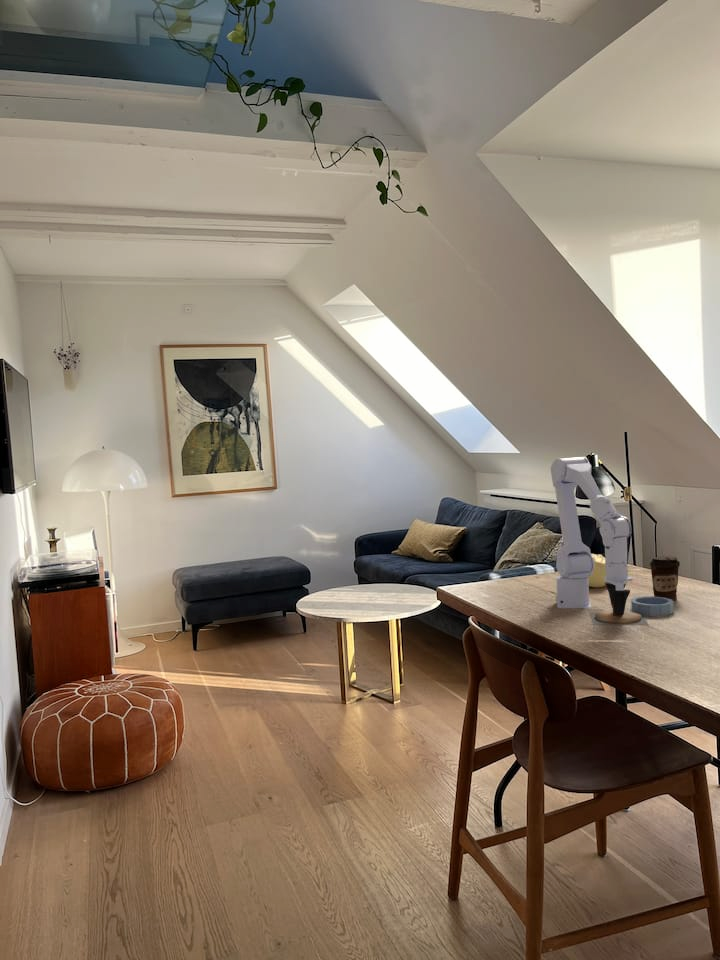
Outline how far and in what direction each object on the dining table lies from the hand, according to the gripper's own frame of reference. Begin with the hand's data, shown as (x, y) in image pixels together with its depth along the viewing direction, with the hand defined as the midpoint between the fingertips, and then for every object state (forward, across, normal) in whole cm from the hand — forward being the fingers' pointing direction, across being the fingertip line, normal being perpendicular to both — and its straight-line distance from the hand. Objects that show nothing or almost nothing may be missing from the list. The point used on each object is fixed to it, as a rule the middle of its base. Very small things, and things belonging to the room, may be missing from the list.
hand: (617, 611), depth 209 cm
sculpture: (+3, +45, +3) cm, 45 cm away
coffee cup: (+3, +23, -16) cm, 28 cm away
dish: (+2, +8, -10) cm, 13 cm away
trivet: (+2, 0, 0) cm, 2 cm away
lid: (+2, 0, 0) cm, 2 cm away
